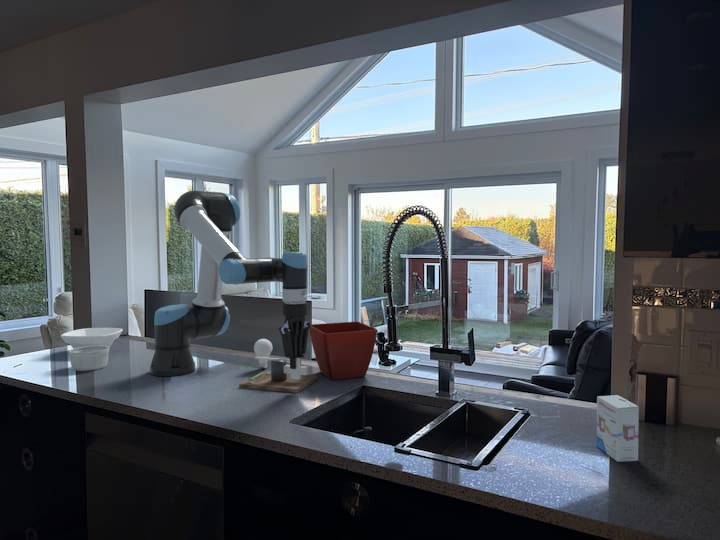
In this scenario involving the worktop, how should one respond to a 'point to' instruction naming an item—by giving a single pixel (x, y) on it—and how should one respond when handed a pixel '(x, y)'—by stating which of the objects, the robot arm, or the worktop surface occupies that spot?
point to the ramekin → (89, 357)
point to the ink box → (617, 427)
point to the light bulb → (263, 351)
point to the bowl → (91, 337)
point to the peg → (281, 368)
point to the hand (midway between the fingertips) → (295, 378)
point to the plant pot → (343, 348)
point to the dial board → (277, 383)
